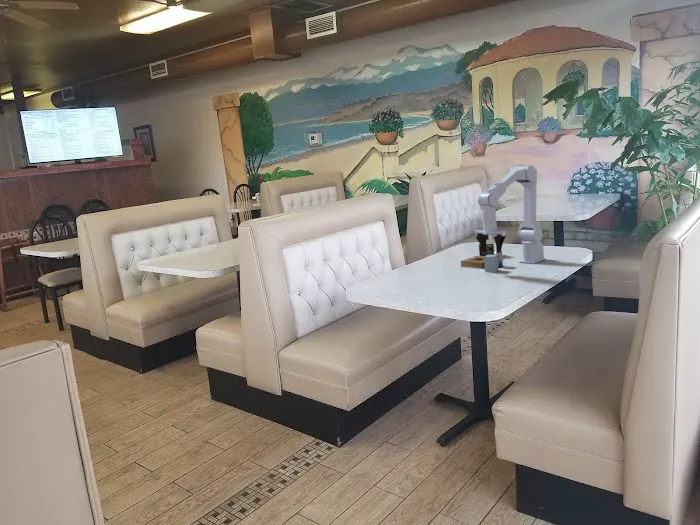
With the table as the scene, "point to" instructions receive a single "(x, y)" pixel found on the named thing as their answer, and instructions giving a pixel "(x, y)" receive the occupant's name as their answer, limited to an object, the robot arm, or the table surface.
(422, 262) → the table surface
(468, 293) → the table surface
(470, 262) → the bore block
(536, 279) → the table surface
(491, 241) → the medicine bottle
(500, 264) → the round peg
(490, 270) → the square peg
